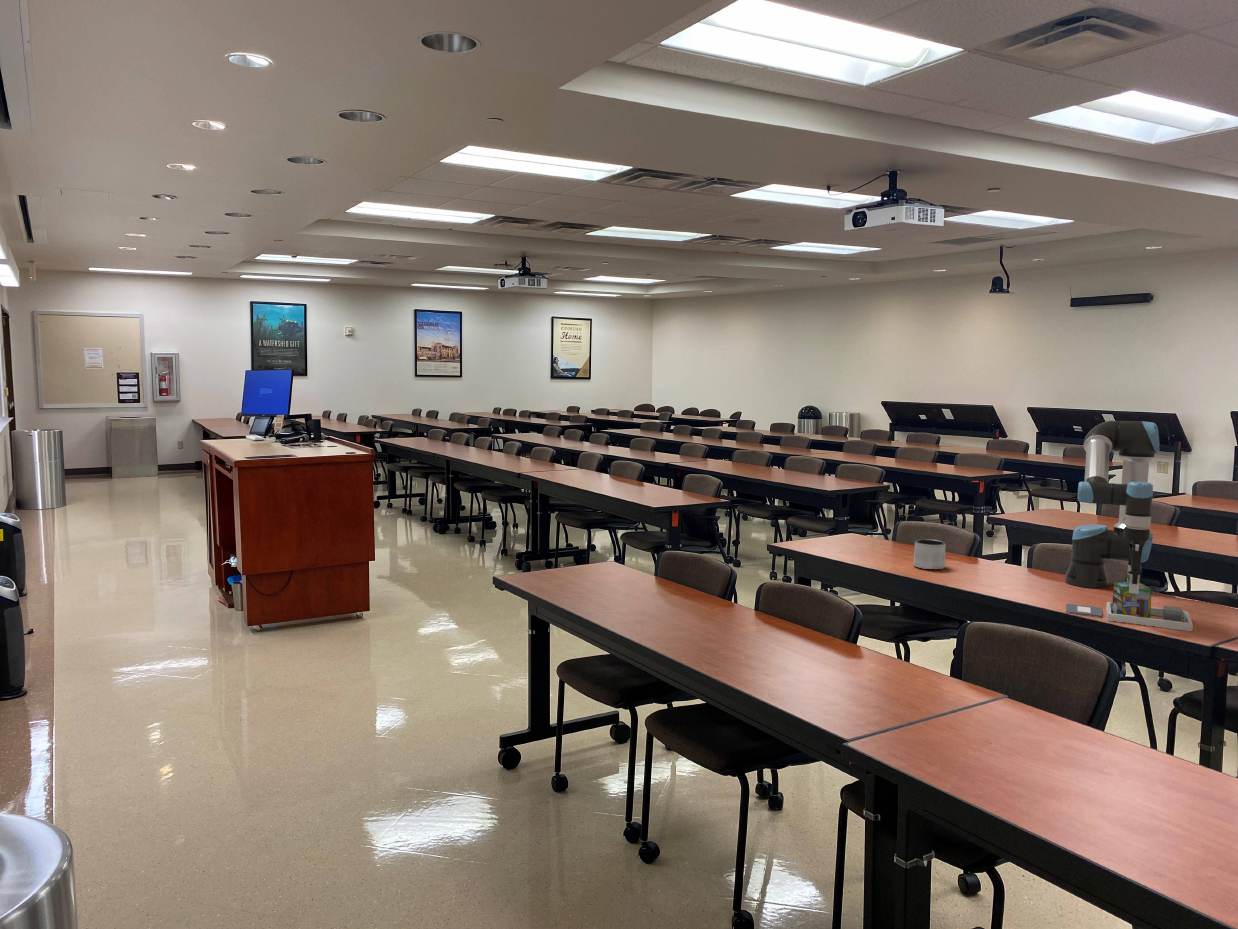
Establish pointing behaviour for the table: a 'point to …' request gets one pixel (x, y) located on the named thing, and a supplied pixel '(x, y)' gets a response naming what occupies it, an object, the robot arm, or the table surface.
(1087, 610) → the pad
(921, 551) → the planter
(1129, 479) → the robot arm
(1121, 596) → the chalk box
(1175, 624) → the tray
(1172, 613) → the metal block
